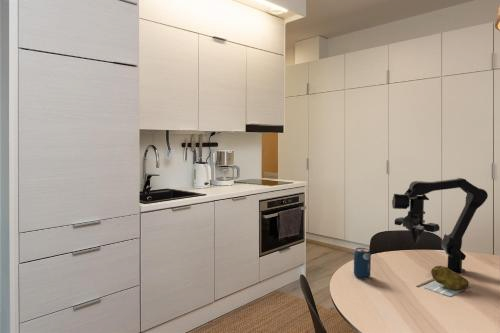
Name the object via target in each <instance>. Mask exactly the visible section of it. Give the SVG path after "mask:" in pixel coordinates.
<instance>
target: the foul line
mask: <svg viewBox="0 0 500 333" xmlns="http://www.w3.org/2000/svg"><path fill="white" fill-rule="evenodd" d="M433 281H435V280H434V278H433V277H432V278H431V279H428V280H426V281H424V282H421V283H420V284H416V286H415V287H417V288H420V287H422V286H424V285H427V284H429V283H431V282H433Z"/></svg>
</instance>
